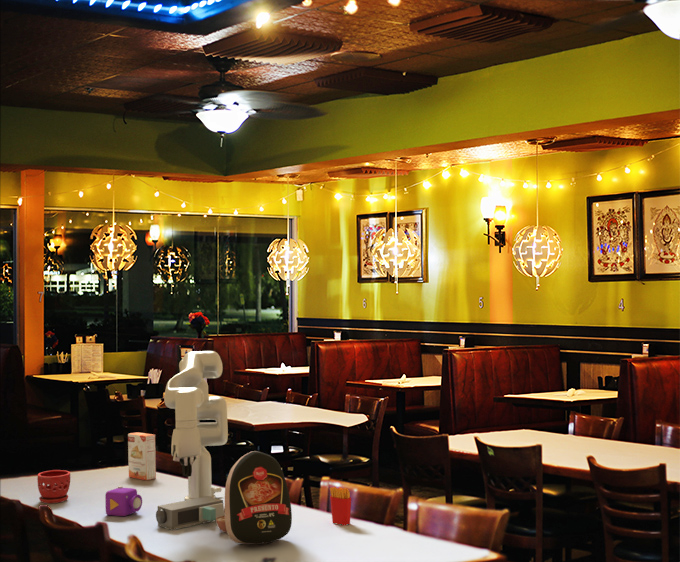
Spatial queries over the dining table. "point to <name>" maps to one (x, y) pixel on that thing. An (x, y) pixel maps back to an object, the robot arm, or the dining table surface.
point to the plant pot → (53, 486)
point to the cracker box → (141, 456)
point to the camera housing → (183, 512)
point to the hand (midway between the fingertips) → (187, 475)
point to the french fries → (340, 505)
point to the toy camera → (122, 501)
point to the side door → (211, 512)
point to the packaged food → (257, 500)
